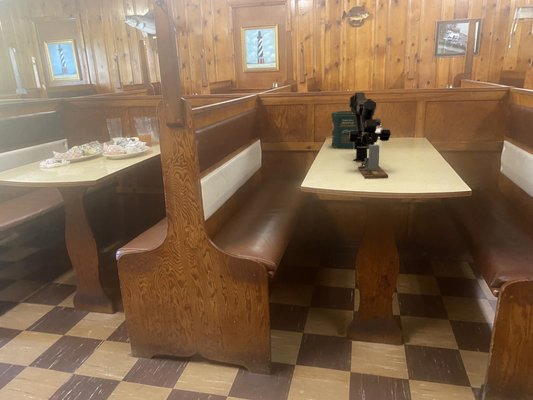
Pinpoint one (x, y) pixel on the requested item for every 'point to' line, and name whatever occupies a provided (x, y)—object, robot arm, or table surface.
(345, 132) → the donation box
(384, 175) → the hole plate
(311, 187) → the table surface
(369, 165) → the block
